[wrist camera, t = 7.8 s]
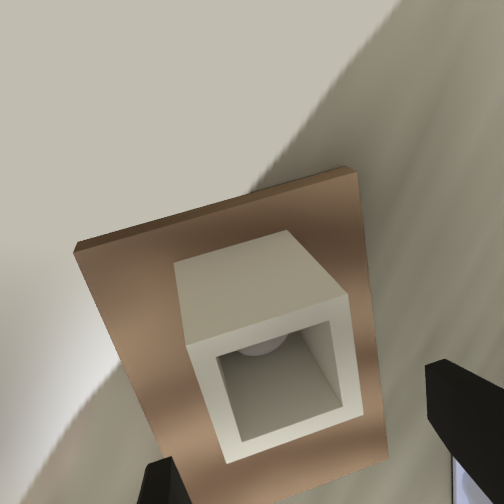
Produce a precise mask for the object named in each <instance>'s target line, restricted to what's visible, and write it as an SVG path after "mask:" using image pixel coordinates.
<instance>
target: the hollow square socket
mask: <svg viewBox="0 0 504 504" xmlns="http://www.w3.org/2000/svg"><path fill="white" fill-rule="evenodd" d="M174 270H175V276H176V283H177V290H178V297H179V304H180V310H181V317H182V324H183V331H184V338H185V344H186V348H187V351H188V354H189V357H190V360H191V363H192V365H193V368H194V371H195V374H196V377H197V380H198V383H199V386H200V389H201V392H202V394H203V397H204V400H205V403H206V406H207V409H208V412H209V415H210V418H211V421H212V423H213V426H214V429H215V432H216V435H217V438H218V441H219V444H220V447H221V449H222V452H223V455H224V458H225V461H226V464H228V463H231V462H234V461H237V460H239V459H242V458H245V457H248V456H251V455H253V454H256V453H259V452H262V451H264V450H267V449H270V448H273V447H275V446H278V445H281V444H284V443H287V442H289V441H292V440H295V439H298V438H300V437H303V436H306V435H309V434H312V433H314V432H317V431H320V430H323V429H325V428H328V427H331V426H334V425H337V424H339V423H342V422H345V421H348V420H350V419H353V418H356V417H359V416H362V415H364V413H363V405H362V397H361V390H360V382H359V374H358V367H357V359H356V352H355V344H354V336H353V329H352V321H351V313H350V306H349V298H348V294H347V292H346V291H345V290H344V289H343V288H342V287H341V286H340V285H339V284H338V283H337V282H336V281H335V280H334V279H333V278H332V277H331V276H330V275H329V273H328V272H327V271H326V270H325V269H324V268H323V267H322V266H321V265H320V264H319V263H318V262H317V261H316V260H315V259H314V258H313V257H312V256H311V255H310V253H309V252H308V251H307V250H306V249H305V248H304V247H303V246H302V245H301V244H300V243H299V242H298V241H297V240H296V239H295V238H294V237H293V236H292V234H291V233H290V232H289V231H288V230H284V231H281V232H277V233H274V234H270V235H267V236H264V237H260V238H257V239H253V240H250V241H246V242H243V243H240V244H236V245H233V246H229V247H226V248H222V249H219V250H216V251H212V252H209V253H205V254H202V255H198V256H195V257H192V258H188V259H185V260H181V261H178V262H174ZM285 334H288V335H287V337H286V339H285V341H284V342H283V343H282V344H281V345H280V346H279V347H278V348H277V349H275V350H274V351H272V352H270V353H268V354H265V355H261V356H248V355H245V354H242V353H240V352H238V351H237V350H239V349H242V348H245V347H248V346H252V345H255V344H258V343H261V342H264V341H267V340H270V339H273V338H276V337H279V336H282V335H285Z"/></svg>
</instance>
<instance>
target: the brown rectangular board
mask: <svg viewBox="0 0 504 504" xmlns="http://www.w3.org/2000/svg"><path fill="white" fill-rule="evenodd" d="M284 230H288V231H289V232H290V233H291V234H292V236H293V237H294V238H295V239H296V240H297V241H298V242H299V243H300V244H301V245H302V246H303V247H304V248H305V249H306V250H307V251H308V252H309V253H310V255H311V256H312V257H313V258H314V259H315V260H316V261H317V262H318V263H319V264H320V265H321V266H322V267H323V268H324V269H325V270H326V271H327V272H328V273H329V275H330V276H331V277H332V278H333V279H334V280H335V281H336V282H337V283H338V284H339V285H340V286H341V287H342V288H343V289H344V290H345V291H346V292H347V294H348V298H349V306H350V313H351V321H352V329H353V336H354V344H355V352H356V359H357V367H358V374H359V382H360V390H361V397H362V405H363V413H364V415H362V416H359V417H356V418H353V419H350V420H348V421H345V422H342V423H339V424H337V425H334V426H331V427H328V428H325V429H323V430H320V431H317V432H314V433H312V434H309V435H306V436H303V437H300V438H298V439H295V440H292V441H289V442H287V443H284V444H281V445H278V446H275V447H273V448H270V449H267V450H264V451H262V452H259V453H256V454H253V455H251V456H248V457H245V458H242V459H239V460H237V461H234V462H231V463H228V464H226V461H225V458H224V455H223V452H222V449H221V447H220V444H219V441H218V438H217V435H216V432H215V429H214V426H213V423H212V421H211V418H210V415H209V412H208V409H207V406H206V403H205V400H204V397H203V394H202V392H201V389H200V386H199V383H198V380H197V377H196V374H195V371H194V368H193V365H192V363H191V360H190V357H189V354H188V351H187V348H186V344H185V338H184V331H183V324H182V317H181V310H180V304H179V297H178V290H177V283H176V276H175V270H174V262H178V261H181V260H185V259H188V258H192V257H195V256H198V255H202V254H205V253H209V252H212V251H216V250H219V249H222V248H226V247H229V246H233V245H236V244H240V243H243V242H246V241H250V240H253V239H257V238H260V237H264V236H267V235H270V234H274V233H277V232H281V231H284ZM73 254H74V256H75V258H76V261H77V263H78V265H79V268H80V270H81V272H82V274H83V276H84V279H85V281H86V283H87V286H88V288H89V290H90V292H91V294H92V297H93V299H94V301H95V304H96V306H97V308H98V310H99V313H100V315H101V317H102V319H103V321H104V324H105V326H106V328H107V330H108V333H109V335H110V337H111V339H112V342H113V344H114V346H115V349H116V351H117V353H118V355H119V358H120V360H121V362H122V364H123V367H124V369H125V371H126V373H127V376H128V378H129V380H130V382H131V385H132V387H133V389H134V391H135V394H136V396H137V398H138V400H139V402H140V405H141V407H142V409H143V411H144V414H145V416H146V418H147V420H148V423H149V425H150V427H151V429H152V432H153V434H154V436H155V438H156V441H157V443H158V445H159V447H160V450H161V452H162V454H163V456H164V458H167V457H170V456H172V458H173V460H174V462H175V465H176V467H177V469H178V472H179V474H180V476H181V479H182V481H183V483H184V485H185V488H186V490H187V492H188V495H189V497H190V499H191V502H192V504H272V503H275V502H277V501H280V500H283V499H285V498H288V497H290V496H293V495H296V494H298V493H301V492H304V491H306V490H309V489H311V488H314V487H317V486H319V485H322V484H324V483H327V482H330V481H332V480H335V479H337V478H340V477H343V476H345V475H348V474H351V473H353V472H356V471H358V470H361V469H364V468H366V467H369V466H371V465H374V464H377V463H379V462H382V461H384V460H387V459H389V454H388V445H387V436H386V427H385V418H384V409H383V400H382V391H381V382H380V373H379V364H378V355H377V346H376V337H375V328H374V319H373V310H372V301H371V292H370V283H369V274H368V265H367V256H366V247H365V238H364V229H363V220H362V211H361V202H360V193H359V184H358V175H357V171H355V170H352V169H350V168H348V167H345V166H344V167H341V168H337V169H334V170H330V171H327V172H323V173H320V174H316V175H313V176H309V177H306V178H302V179H299V180H295V181H291V182H288V183H284V184H281V185H277V186H274V187H270V188H267V189H263V190H260V191H256V192H253V193H249V194H246V195H242V196H239V197H235V198H232V199H228V200H224V201H221V202H217V203H214V204H210V205H207V206H203V207H200V208H196V209H193V210H189V211H186V212H182V213H179V214H175V215H172V216H168V217H164V218H161V219H157V220H154V221H150V222H147V223H143V224H140V225H136V226H133V227H129V228H126V229H122V230H119V231H115V232H112V233H108V234H104V235H101V236H97V237H94V238H90V239H87V240H83V241H80V242H78V243H77V245H76V247H75V250H74V252H73ZM287 335H288V334H285V335H282V336H279V337H276V338H273V339H270V340H267V341H264V342H261V343H258V344H255V345H252V346H248V347H245V348H242V349H239V350H237V351H238V352H240V353H242V354H245V355H248V356H261V355H265V354H268V353H270V352H272V351H274V350H275V349H277V348H278V347H279V346H280V345H281V344H282V343H283V342H284V341H285V339H286V337H287Z"/></svg>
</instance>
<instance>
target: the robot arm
mask: <svg viewBox="0 0 504 504" xmlns="http://www.w3.org/2000/svg"><path fill="white" fill-rule="evenodd" d="M425 377H426V397H427V416H428V420H429V422H430V423H431V425H432V426H433V428H434V429H435V431H436V432H437V434H438V435H439V437H440V438H441V440H442V441H443V443H444V444H445V446H446V447H447V449H448V450H449V452H450V453H451V454H452V455H453V502H454V504H504V389H503V388H501V387H499V386H497V385H495V384H493V383H491V382H489V381H487V380H485V379H483V378H481V377H479V376H477V375H475V374H474V373H472V372H470V371H468V370H466V369H464V368H462V367H460V366H458V365H456V364H454V363H452V362H451V361H449V360H447V359H442V360H439V361H436V362H434V363H431V364H428V365H425ZM137 504H192V502H191V499H190V497H189V495H188V492H187V490H186V488H185V485H184V483H183V481H182V479H181V476H180V474H179V472H178V469H177V467H176V465H175V462H174V460H173V458H172V456H170V457H167V458H164V459H161V460H158V461H155V462H153V463H150V464H148V465H147V467H146V469H145V473H144V477H143V482H142V486H141V490H140V494H139V497H138V501H137Z"/></svg>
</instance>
